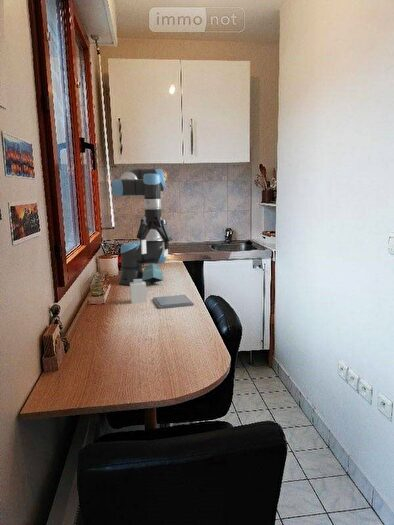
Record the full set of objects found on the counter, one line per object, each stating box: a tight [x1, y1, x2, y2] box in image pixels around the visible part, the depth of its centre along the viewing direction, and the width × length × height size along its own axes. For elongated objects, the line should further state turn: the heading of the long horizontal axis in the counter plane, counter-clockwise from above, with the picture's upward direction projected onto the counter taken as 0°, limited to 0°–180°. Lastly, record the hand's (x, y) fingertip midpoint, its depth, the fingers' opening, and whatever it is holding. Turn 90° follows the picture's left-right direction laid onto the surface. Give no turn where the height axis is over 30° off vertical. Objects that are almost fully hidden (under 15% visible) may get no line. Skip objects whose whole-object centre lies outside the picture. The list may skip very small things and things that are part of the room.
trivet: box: [152, 294, 194, 310], centre depth 177 cm, size 16×16×1 cm
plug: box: [129, 279, 148, 305], centre depth 179 cm, size 5×7×11 cm
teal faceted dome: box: [142, 264, 164, 284], centre depth 212 cm, size 9×9×9 cm
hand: (154, 255), depth 174 cm, fingers open, 13 cm apart
